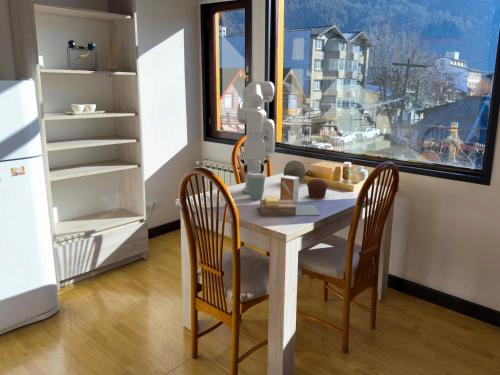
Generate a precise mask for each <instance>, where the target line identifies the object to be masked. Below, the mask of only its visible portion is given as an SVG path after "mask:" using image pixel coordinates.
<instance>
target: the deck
mask: <svg viewBox="0 0 500 375" xmlns="http://www.w3.org/2000/svg"><path fill="white" fill-rule="evenodd" d="M278 200H279V206H266V203H265V199H260V200H259V201H260V202H259V208H260V211H261V214H262V217H263V216H296V207H295V205H296V204H295V202H292V200H291V199H280V198H278Z"/></svg>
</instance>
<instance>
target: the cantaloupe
mask: <svg viewBox="0 0 500 375" xmlns="http://www.w3.org/2000/svg"><path fill="white" fill-rule="evenodd" d="M286 175H287V176H294V177H299V183H300V182H302V181H303V180H304V179H305V177H306V167H305V164H304V163H303V162H301V161H300V160H299V161H298V160H290V161H289V162H286V164H285V166H284V169H283V176H286Z"/></svg>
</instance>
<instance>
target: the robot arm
mask: <svg viewBox="0 0 500 375" xmlns="http://www.w3.org/2000/svg"><path fill="white" fill-rule="evenodd" d="M274 96H275V85H274V83H273V82H272V81H268V80H267V81H265V80H264V81H263V80H261V81H260V80H253V81H251V82H249V83H248V84H247V86H246V87H244V88H243V89H242V100H240V101H239V103H238V105H237V112H236V119H237V122H238V123H239V124H242V125H246V138H244V142H243V152H241V153H240V154H239V155H238V156H237V159H238V160H239V161H240V163H242V164H243V171H244V173H245V186H244V188H243V189H242V192H243V194H248V195H250V193H249V186H248V180H247V177H246V175H247V173H248V172H249V171H253V170H259V171H261V173H263V172H265V165H266V164H267V163H268V162H269V161H270V159H271V157H272V156H270V155H274V153H275V150H276V125H275V121H274V120H273V119H272V118H271V119H270V118H267V112H266V110H265V109H263V108H261V106H263V105H262V104H263V103H271V102H272V101H273V100H274ZM242 157H243V158H242ZM263 193H265V188H264V189H263Z"/></svg>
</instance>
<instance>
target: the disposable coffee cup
mask: <svg viewBox="0 0 500 375" xmlns="http://www.w3.org/2000/svg"><path fill="white" fill-rule="evenodd" d="M246 177H247V180H248V186H249V193H250V194H249V197H250V200H253V201H260V200H263V197H264V196H263V195H264V192H263V189H264V190H265V188H264V187H265V180H266V173H265V171H263V173H261V171H259V170H253V171H249V172H248V173H247V175H246V174H245V178H246Z"/></svg>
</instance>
